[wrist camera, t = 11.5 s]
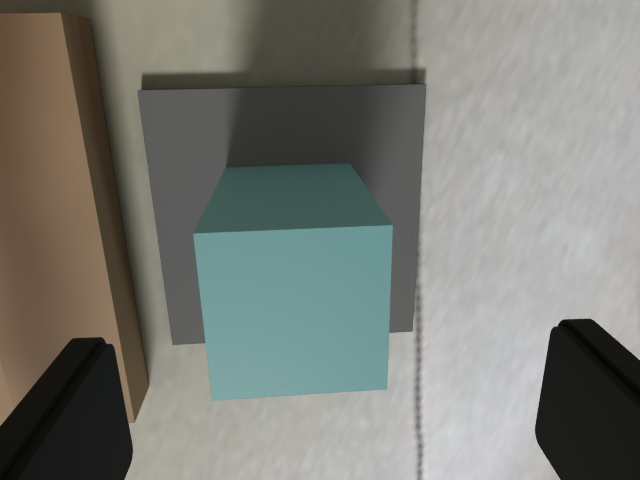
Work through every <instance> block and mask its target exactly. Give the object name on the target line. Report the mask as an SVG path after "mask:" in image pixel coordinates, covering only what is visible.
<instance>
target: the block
mask: <svg viewBox="0 0 640 480" xmlns="http://www.w3.org/2000/svg"><path fill="white" fill-rule="evenodd" d="M392 234H393V225H392V223H391V222H390V220H389V219H388V217H387V216H386V215H385V213H384V212H383V210H382V209H381V207H380V206H379V204H378V203H377V202H376V200H375V199H374V197H373V196H372V194H371V193H370V191H369V190H368V189H367V187H366V186H365V184H364V183H363V181H362V180H361V178H360V177H359V175H358V174H357V173H356V171H355V170H354V168H353V167H352V165H351V164H350V163H343V164H314V165H284V166H254V167H226V168H225V170H224V172H223V174H222V176H221V178H220V180H219V182H218V184H217V186H216V188H215V190H214V192H213V194H212V196H211V198H210V200H209V203H208V205H207V207H206V209H205V211H204V213H203V215H202V217H201V219H200V221H199V223H198V225H197V227H196V229H195V231H194V233H193V237H194V245H195V254H196V263H197V272H198V281H199V289H200V298H201V307H202V316H203V325H204V333H205V342H206V351H207V360H208V369H209V378H210V386H211V395H212V401H215V400H230V399H246V398H261V397H276V396H292V395H307V394H322V393H338V392H353V391H368V390H384V389H387V378H388V349H389V320H390V291H391V262H392Z"/></svg>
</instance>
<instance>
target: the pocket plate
mask: <svg viewBox="0 0 640 480" xmlns="http://www.w3.org/2000/svg"><path fill="white" fill-rule="evenodd" d="M90 337H102V338H104V340H105V342H106V344H112V345H113V346H114V349H115V353H116V358H117V364H118V369H119V375H120V380H121V386H122V391H123V396H124V402H125V407H126V413H127V418H128V423H135V420H136V418H137V415H138V413H139V410H140V408H141V405H142V403H143V400H144V398H145V395H146V393H147V390H148V388H149V383H148V377H147V371H146V365H145V359H144V353H143V347H142V340H141V334H140V328H139V322H138V316H137V310H136V304H135V297H134V291H133V285H132V279H131V273H130V267H129V261H128V255H127V248H126V242H125V236H124V230H123V224H122V218H121V212H120V205H119V199H118V193H117V187H116V181H115V175H114V169H113V163H112V156H111V150H110V144H109V138H108V132H107V126H106V120H105V113H104V107H103V101H102V95H101V89H100V83H99V77H98V71H97V64H96V58H95V52H94V46H93V40H92V34H91V28H90V21H89V19H87V18H82V17H78V16H73V15H68V14H64V13H0V426H1V425H2V423H3V422H4V421H5V420H6V418H7V417H8V416H9V415H10V414H11V412H12V411H13V410H14V409H15V407H16V406H17V405H18V404H19V403H20V401H21V400H22V399H23V398H24V396H25V395H26V394H27V393H28V392H29V390H30V389H31V388H32V387H33V385H34V384H35V383H36V382H37V380H38V379H39V378H40V377H41V376H42V374H43V373H44V372H45V371H46V369H47V368H48V367H49V366H50V365H51V363H52V362H53V361H54V360H55V358H56V357H57V356H58V355H59V353H60V352H61V351H62V350H63V349H64V347H65V346H66V345H67V344H68V342H69V341H70V340H71V339H73V338H90Z"/></svg>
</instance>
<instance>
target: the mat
mask: <svg viewBox="0 0 640 480" xmlns="http://www.w3.org/2000/svg"><path fill="white" fill-rule="evenodd" d="M425 97H426V84H389V85H342V86H295V87H248V88H201V89H154V90H138V98H139V105H140V113H141V120H142V127H143V134H144V142H145V149H146V156H147V163H148V171H149V178H150V185H151V192H152V199H153V207H154V214H155V221H156V228H157V236H158V243H159V250H160V257H161V264H162V272H163V279H164V286H165V293H166V301H167V308H168V315H169V322H170V329H171V337H172V344H173V345H180V344H198V343H206V342H205V333H204V325H203V316H202V307H201V298H200V289H199V281H198V272H197V263H196V254H195V245H194V237H193V233H194V231H195V229H196V227H197V225H198V223H199V221H200V219H201V217H202V215H203V213H204V211H205V209H206V207H207V205H208V203H209V200H210V198H211V196H212V194H213V192H214V190H215V188H216V186H217V184H218V182H219V180H220V178H221V176H222V174H223V172H224V170H225V168H226V167H254V166H284V165H314V164H343V163H350V164H351V165H352V167H353V168H354V170H355V171H356V173H357V174H358V175H359V177H360V178H361V180H362V181H363V183H364V184H365V186H366V187H367V189H368V190H369V191H370V193H371V194H372V196H373V197H374V199H375V200H376V202H377V203H378V204H379V206H380V207H381V209H382V210H383V212H384V213H385V215H386V216H387V217H388V219H389V220H390V222H391V223H392V225H393V234H392V262H391V291H390V320H389V333H394V332H412V331H413V315H414V296H415V278H416V260H417V242H418V224H419V206H420V188H421V169H422V151H423V133H424V115H425Z"/></svg>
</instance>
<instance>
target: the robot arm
mask: <svg viewBox="0 0 640 480" xmlns="http://www.w3.org/2000/svg"><path fill="white" fill-rule="evenodd" d="M535 434H536V439H537V442H538V444H539V446H540V448H541V449H542V451H543V452H544V454H545V456H546V457H547V459H548V460H549V462H550V464H551V465H552V467H553V468H554V470H555V471H556V473H557V475H558V476H559V478H560V479H561V480H640V360H639V359H638V358H636V357H635V356H634V355H633V354H632V353H631V352H629V351H628V350H627V349H626V348H625V347H624V346H623V345H621V344H620V343H619V342H618V341H617V340H616V339H615V338H613V337H612V336H611V335H610V334H609V333H608V332H606V331H605V330H604V329H603V328H602V327H601V326H600V325H598V324H597V323H596V322H595V321H593V320H592V319H567V320H562V321H560V323H559V324H558V327H554V328H553V329H552V330H551V333H550V339H549V345H548V351H547V358H546V364H545V370H544V376H543V382H542V388H541V395H540V401H539V407H538V413H537V419H536V425H535ZM132 454H133V446H132V440H131V435H130V429H129V424H128V418H127V413H126V407H125V402H124V396H123V391H122V386H121V380H120V375H119V369H118V364H117V358H116V353H115V349H114V346H113V345H112V344H106V342H105V340H104V338H102V337H90V338H73V339H71V340H70V341H69V342H68V344H67V345H66V346H65V347H64V349H63V350H62V351H61V352H60V353H59V355H58V356H57V357H56V358H55V360H54V361H53V362H52V363H51V365H50V366H49V367H48V368H47V369H46V371H45V372H44V373H43V374H42V376H41V377H40V378H39V379H38V380H37V382H36V383H35V384H34V385H33V387H32V388H31V389H30V390H29V392H28V393H27V394H26V395H25V396H24V398H23V399H22V400H21V401H20V403H19V404H18V405H17V406H16V407H15V409H14V410H13V411H12V412H11V414H10V415H9V416H8V417H7V418H6V420H5V421H4V422H3V423H2V425H1V426H0V480H124V479H125V477H126V474H127V472H128V469H129V467H130V464H131V461H132Z"/></svg>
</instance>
